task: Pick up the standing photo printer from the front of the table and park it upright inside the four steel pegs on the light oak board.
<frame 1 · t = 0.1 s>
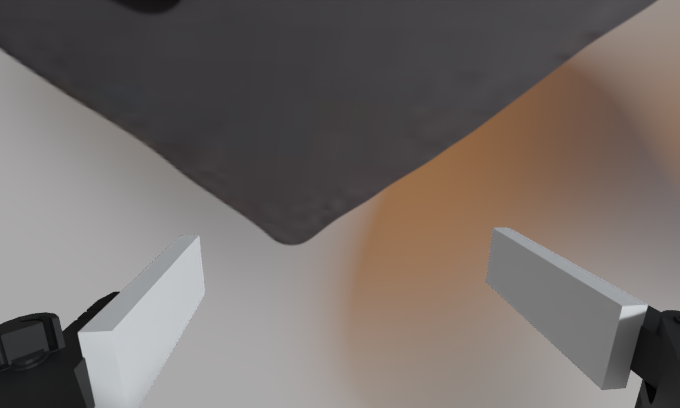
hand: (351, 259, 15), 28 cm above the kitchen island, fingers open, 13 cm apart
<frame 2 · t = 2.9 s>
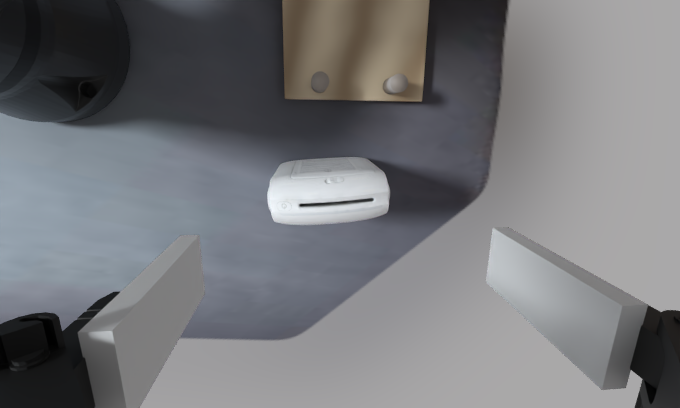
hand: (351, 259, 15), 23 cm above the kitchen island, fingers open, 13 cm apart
peg board: (355, 15, 33), on the kitchen island
photo printer: (324, 175, 37), on the kitchen island
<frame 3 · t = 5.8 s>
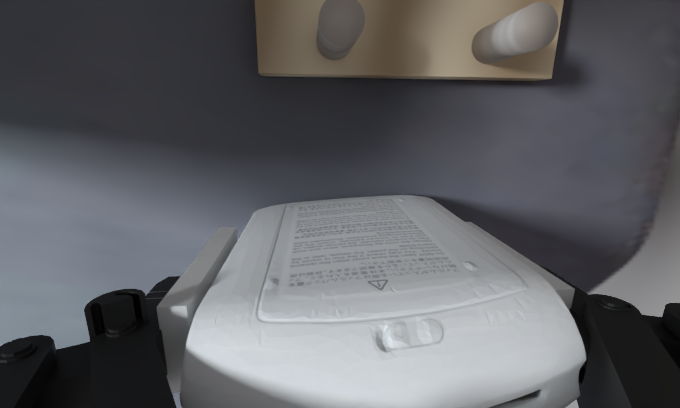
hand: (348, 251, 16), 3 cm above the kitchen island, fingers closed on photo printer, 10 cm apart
photo printer: (342, 230, 19), on the kitchen island, touching gripper
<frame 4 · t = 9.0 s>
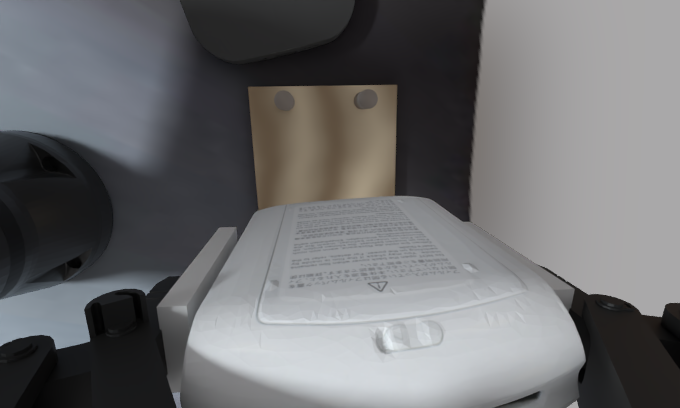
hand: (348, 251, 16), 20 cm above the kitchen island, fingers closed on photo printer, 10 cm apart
peg board: (325, 168, 35), on the kitchen island
photo printer: (342, 231, 19), point 17 cm above the kitchen island, touching gripper
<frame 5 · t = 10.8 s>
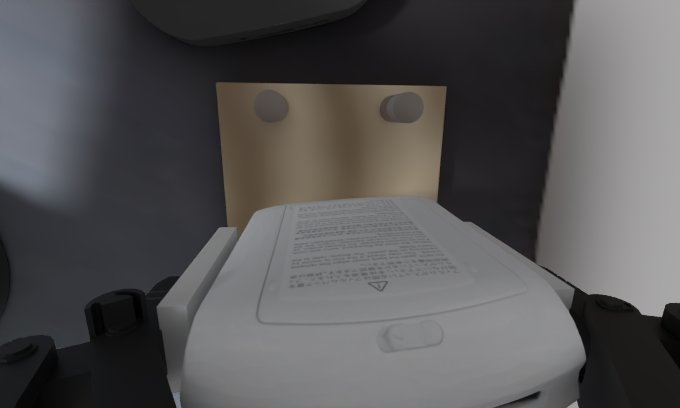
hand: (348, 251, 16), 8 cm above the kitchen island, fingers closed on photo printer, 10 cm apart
peg board: (333, 206, 24), on the kitchen island
photo printer: (342, 231, 19), point 5 cm above the kitchen island, touching gripper
when the fingers open (5 cm above the kitchen island, at t = 12.3 s): photo printer drops 1 cm, resting on peg board.
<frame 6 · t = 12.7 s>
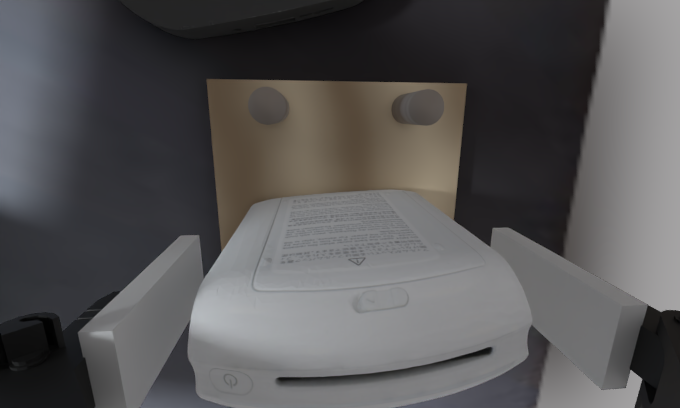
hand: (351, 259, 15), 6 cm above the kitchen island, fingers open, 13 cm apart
peg board: (338, 217, 21), on the kitchen island
photo printer: (334, 222, 20), point 1 cm above the kitchen island, touching peg board
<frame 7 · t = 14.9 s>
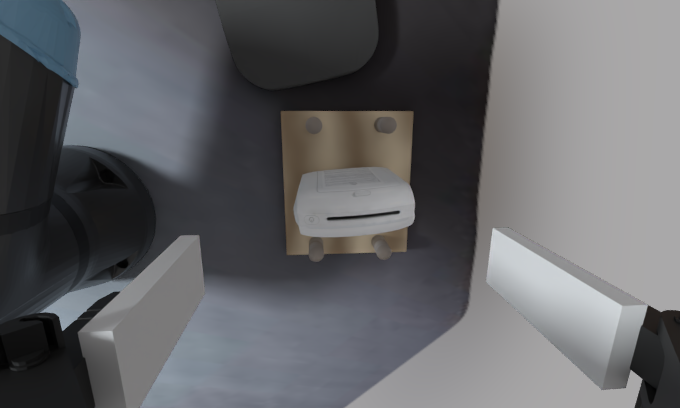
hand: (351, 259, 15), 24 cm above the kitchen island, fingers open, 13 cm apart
peg board: (346, 183, 38), on the kitchen island
photo printer: (344, 185, 37), point 1 cm above the kitchen island, touching peg board
media streaming box: (297, 9, 34), on the kitchen island
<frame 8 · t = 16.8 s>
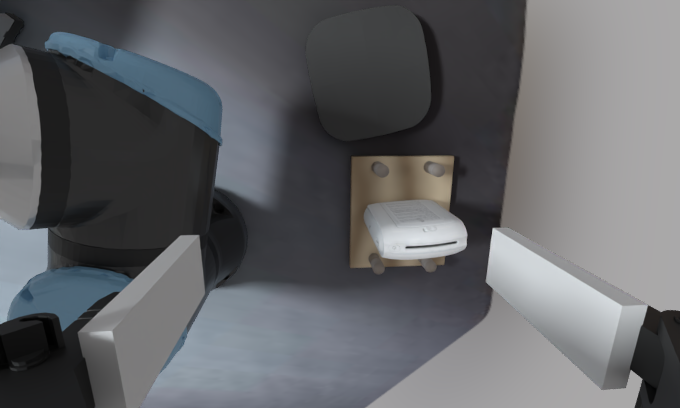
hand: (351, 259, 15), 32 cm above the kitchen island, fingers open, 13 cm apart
peg board: (398, 211, 48), on the kitchen island
photo printer: (398, 213, 47), point 1 cm above the kitchen island, touching peg board
media streaming box: (366, 78, 44), on the kitchen island
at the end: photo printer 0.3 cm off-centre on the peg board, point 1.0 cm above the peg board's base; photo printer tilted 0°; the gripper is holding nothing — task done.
